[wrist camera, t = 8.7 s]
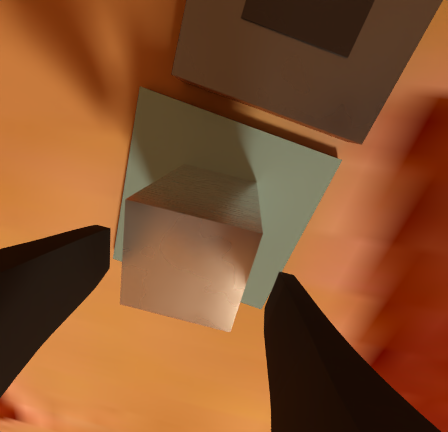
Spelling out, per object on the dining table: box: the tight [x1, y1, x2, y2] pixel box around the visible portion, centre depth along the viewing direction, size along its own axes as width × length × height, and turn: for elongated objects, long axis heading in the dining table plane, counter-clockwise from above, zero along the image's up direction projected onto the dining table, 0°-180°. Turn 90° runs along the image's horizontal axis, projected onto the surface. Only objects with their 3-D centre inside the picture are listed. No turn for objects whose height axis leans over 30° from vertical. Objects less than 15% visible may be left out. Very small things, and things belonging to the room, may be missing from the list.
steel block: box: [120, 164, 263, 332], centre depth 11 cm, size 5×5×7 cm
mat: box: [113, 87, 342, 309], centre depth 15 cm, size 12×12×1 cm
